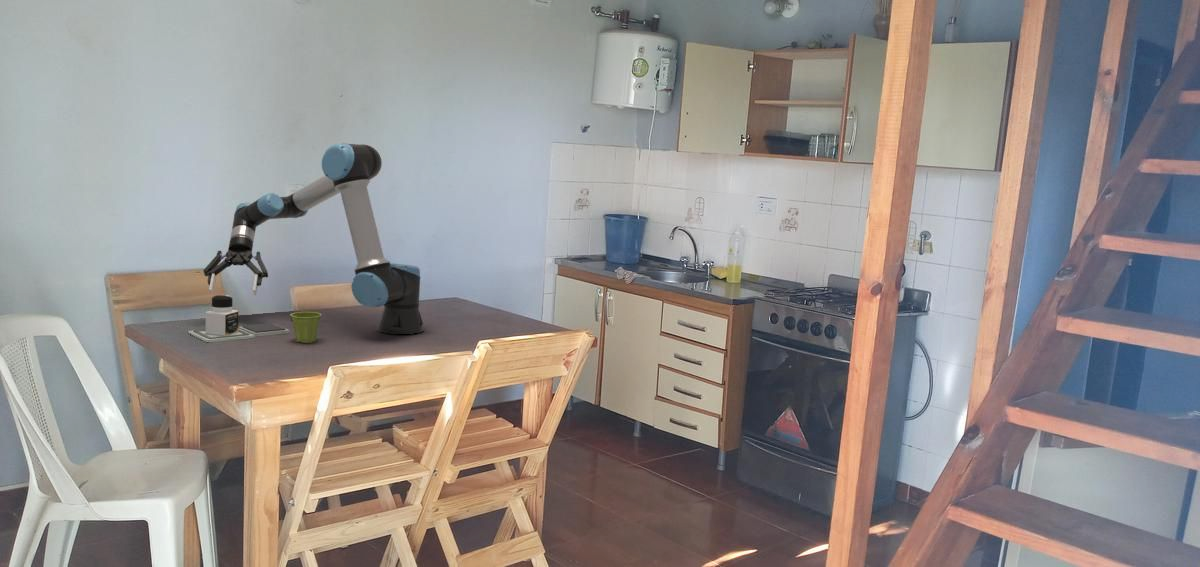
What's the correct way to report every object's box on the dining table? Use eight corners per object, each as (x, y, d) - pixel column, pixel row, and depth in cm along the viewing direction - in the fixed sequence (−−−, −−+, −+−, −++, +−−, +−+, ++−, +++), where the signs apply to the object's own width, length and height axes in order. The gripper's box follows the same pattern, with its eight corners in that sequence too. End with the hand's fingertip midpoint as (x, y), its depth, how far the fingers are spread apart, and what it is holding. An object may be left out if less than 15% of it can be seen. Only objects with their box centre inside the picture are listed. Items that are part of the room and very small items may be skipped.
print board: (254, 337, 293) (254, 334, 293) (206, 342, 282) (206, 339, 282) (234, 329, 303) (234, 325, 303) (187, 333, 293) (187, 330, 293)
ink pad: (289, 333, 302) (289, 329, 302) (254, 336, 294) (254, 332, 294) (273, 326, 311) (273, 322, 311) (238, 329, 302) (238, 325, 302)
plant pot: (292, 345, 286) (293, 317, 285) (287, 338, 295) (288, 312, 293) (323, 343, 291) (324, 316, 290) (318, 337, 299) (318, 311, 298)
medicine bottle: (225, 336, 289) (225, 298, 287) (205, 334, 290) (205, 296, 288) (238, 332, 296) (238, 295, 294) (218, 329, 297) (218, 293, 295)
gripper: (280, 249, 321) (273, 299, 309) (205, 248, 317) (194, 298, 304) (278, 236, 316) (271, 286, 303) (200, 234, 311) (190, 284, 299)
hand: (232, 292), depth 304 cm, fingers open, 13 cm apart
